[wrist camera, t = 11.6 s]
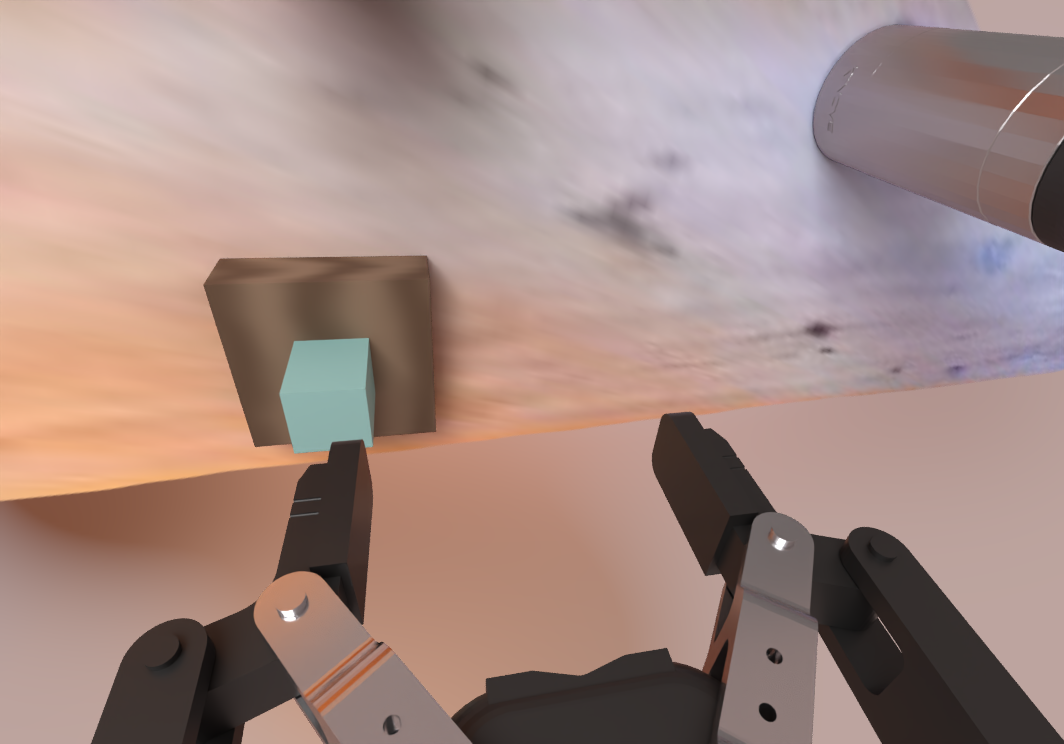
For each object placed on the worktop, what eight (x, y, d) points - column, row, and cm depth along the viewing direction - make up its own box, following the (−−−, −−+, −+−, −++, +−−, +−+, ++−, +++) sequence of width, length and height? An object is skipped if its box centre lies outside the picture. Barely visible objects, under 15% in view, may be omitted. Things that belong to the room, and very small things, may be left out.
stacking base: (426, 255, 39) (429, 279, 36) (433, 401, 47) (436, 431, 44) (220, 258, 36) (203, 284, 33) (264, 414, 44) (255, 446, 41)
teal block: (368, 338, 38) (365, 388, 33) (375, 392, 40) (373, 446, 36) (294, 341, 36) (279, 393, 32) (306, 397, 39) (294, 453, 35)
